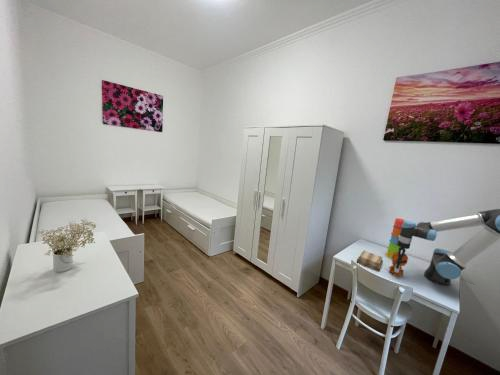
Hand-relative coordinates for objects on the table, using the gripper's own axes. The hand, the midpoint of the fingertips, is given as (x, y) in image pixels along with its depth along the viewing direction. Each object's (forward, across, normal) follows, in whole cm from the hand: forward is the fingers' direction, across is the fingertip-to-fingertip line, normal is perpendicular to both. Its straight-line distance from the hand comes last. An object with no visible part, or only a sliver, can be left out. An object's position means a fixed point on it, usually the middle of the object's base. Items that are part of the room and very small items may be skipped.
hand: (397, 269), depth 161 cm
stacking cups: (+4, -30, -6) cm, 31 cm away
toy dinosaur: (+4, 0, 0) cm, 4 cm away
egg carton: (+4, 0, -18) cm, 18 cm away
